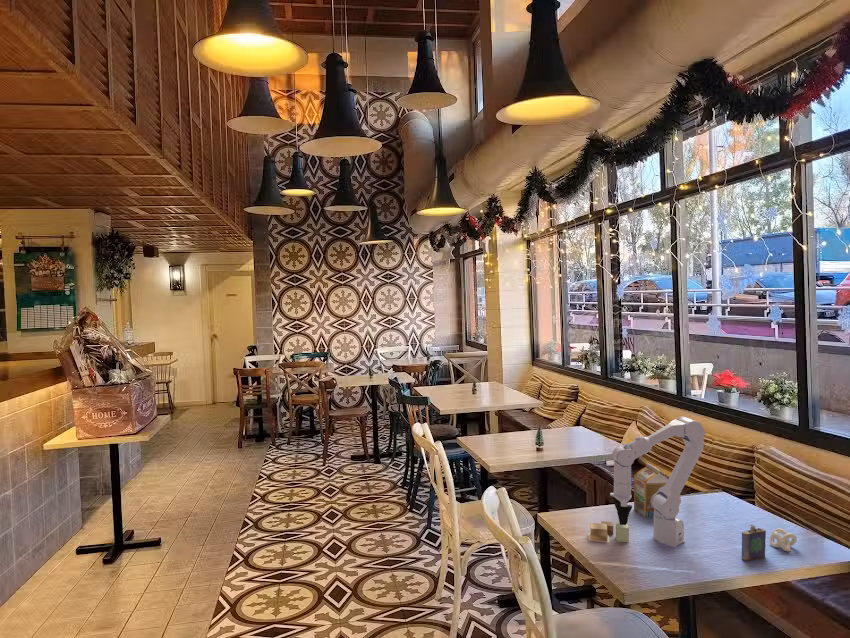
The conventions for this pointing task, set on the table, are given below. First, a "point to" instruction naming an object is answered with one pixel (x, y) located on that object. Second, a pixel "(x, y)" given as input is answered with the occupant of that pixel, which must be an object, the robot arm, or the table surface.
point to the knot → (782, 539)
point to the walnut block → (608, 527)
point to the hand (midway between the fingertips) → (622, 520)
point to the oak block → (598, 531)
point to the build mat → (598, 540)
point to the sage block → (622, 533)
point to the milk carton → (647, 489)
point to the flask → (753, 544)
